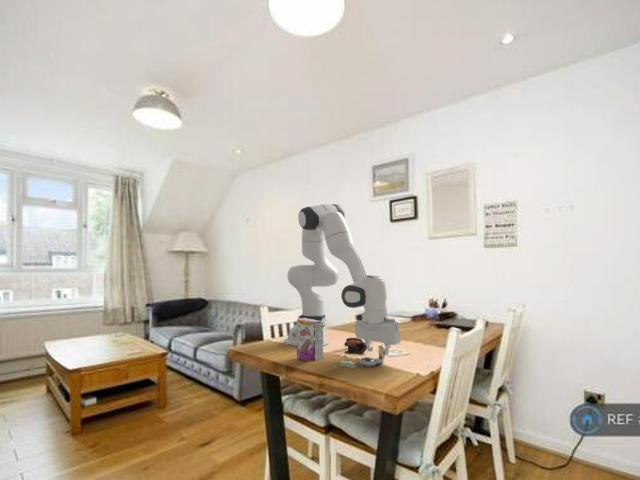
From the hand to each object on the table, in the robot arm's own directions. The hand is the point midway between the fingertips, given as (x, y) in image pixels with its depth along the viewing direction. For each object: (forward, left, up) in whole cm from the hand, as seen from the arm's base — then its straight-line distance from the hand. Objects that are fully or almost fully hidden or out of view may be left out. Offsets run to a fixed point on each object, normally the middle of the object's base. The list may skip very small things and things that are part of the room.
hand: (377, 352), depth 127 cm
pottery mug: (-14, +9, -5) cm, 17 cm away
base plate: (-1, -6, -5) cm, 8 cm away
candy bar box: (-26, -8, -5) cm, 28 cm away
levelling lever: (0, -4, -3) cm, 5 cm away
